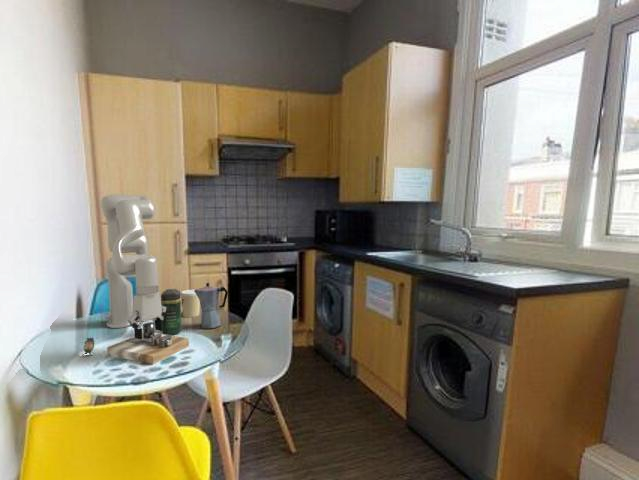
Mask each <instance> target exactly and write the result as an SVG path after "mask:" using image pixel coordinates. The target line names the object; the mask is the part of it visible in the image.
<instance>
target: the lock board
mask: <svg viewBox="0 0 639 480" xmlns="http://www.w3.org/2000/svg"><path fill="white" fill-rule="evenodd" d="M142 336H143V332H142ZM157 337H160V338H159V344H157V343H155V338H157ZM166 339H172V344H170V345H165V340H166ZM189 345H190V339H189V337H188V338H187V337H182V336H175V335H165V334H162V332H161V333H157V332H155V336H152V337H151V342H146V341H141V339H136V338H135V336H131V337H129V338H127V339H124V340H122V341H119V342H117V343H114V344H112V345H109V346H107V347H106V349H107V350H106V351H107V356H111V357H116V358H121V359H125V360H130V361H134V362H135V361H136V362H140V363H145V364H149V365H155V364H157V363H159V362H161V361H162V360H165V359H166V358H168V357H170V356H172V355H174V354H176V353H178V352H180V351H182V350H184V349H186V348H188V347H189Z"/></svg>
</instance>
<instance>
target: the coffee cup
mask: <svg viewBox="0 0 639 480" xmlns="http://www.w3.org/2000/svg"><path fill="white" fill-rule="evenodd" d="M195 290H196V289H187V290H183V291H180V296H181V310H182V316H183V317H184V318H195V317H198V316H199V315H200V312H201V305H200V301H199V298H198V296H197V295H196V293H195V292H194V291H195Z"/></svg>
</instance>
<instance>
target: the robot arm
mask: <svg viewBox="0 0 639 480" xmlns="http://www.w3.org/2000/svg"><path fill="white" fill-rule="evenodd" d="M100 202H101V203H100V205H101V206H100V207H101V210H102V213H103V216H104V217H105V221H106V225H107V245H108V250H109V251H110V252H111V254H112V257H109V258H108V259H106V261H105V266H104V267H105V271H106V276H107V283H108V296H109V298H108V299H109V312H108V315H107V314H106V316H105V318H106V319H108V322H106V326H107V328H112V329H121V328H127V327H132V329H133V331H134V332H133V333H134V336H135V338H136V339H142V333H143V324H144V323H147V322H149V321H151V320H154V326H155V331H160V332H162V330H163V328H162V320H163V319H164V318H163V317H164V315H165V312H166V308H167V307H165V306H162V305H161V293H160V291H159V288H160V285H159V278H158V276H159V275H158V274H159V273H158V259H157V258H156V257H155V256H154V255H153V254H151V253H149V251H148V250H149V247H148V238H147V236H146V234H145V228H144V224H143V220H152V219H153V218H154V216H155V214H156V211H155V210H156V209H155V205H154V203H153V202H152V200H151V199H150V198H148V197H147V196H145V195H141V194H140V195H139V194H106V195H104V196H102V198H101V201H100ZM127 253H129V254H127ZM131 253H135V254H131ZM123 254H126V255H123ZM132 276H135V294H134V293H133V292H134V291H133V284H132V283H131V281H130V280H128V279H127V278H128V277H132ZM134 336H133V337H134Z"/></svg>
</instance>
